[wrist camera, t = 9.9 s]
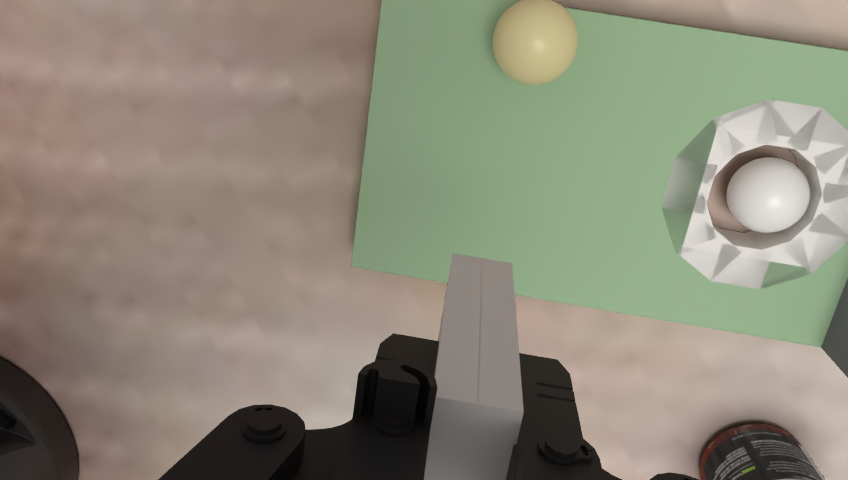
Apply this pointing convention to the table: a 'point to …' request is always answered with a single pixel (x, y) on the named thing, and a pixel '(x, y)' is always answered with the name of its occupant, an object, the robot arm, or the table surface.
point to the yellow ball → (535, 41)
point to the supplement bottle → (757, 456)
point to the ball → (768, 194)
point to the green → (608, 168)
